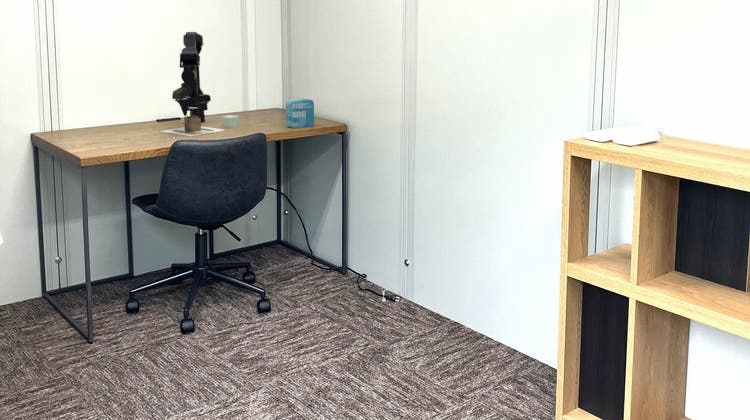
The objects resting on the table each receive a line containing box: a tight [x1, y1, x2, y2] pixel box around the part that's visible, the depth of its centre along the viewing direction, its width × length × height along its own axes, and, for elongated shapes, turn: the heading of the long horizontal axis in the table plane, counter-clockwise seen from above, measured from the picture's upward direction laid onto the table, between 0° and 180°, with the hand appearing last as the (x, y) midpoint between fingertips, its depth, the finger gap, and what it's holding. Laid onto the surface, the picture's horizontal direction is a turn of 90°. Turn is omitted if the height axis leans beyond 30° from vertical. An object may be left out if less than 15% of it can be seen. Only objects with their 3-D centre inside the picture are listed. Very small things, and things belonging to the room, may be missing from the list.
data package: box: [285, 98, 315, 129], centre depth 412 cm, size 12×4×12 cm, turn 123°
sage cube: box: [220, 115, 240, 129], centre depth 407 cm, size 6×6×6 cm
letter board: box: [161, 125, 225, 137], centre depth 396 cm, size 20×20×1 cm
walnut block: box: [183, 115, 202, 132], centre depth 395 cm, size 5×5×6 cm
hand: (192, 116), depth 395 cm, fingers open, 9 cm apart
